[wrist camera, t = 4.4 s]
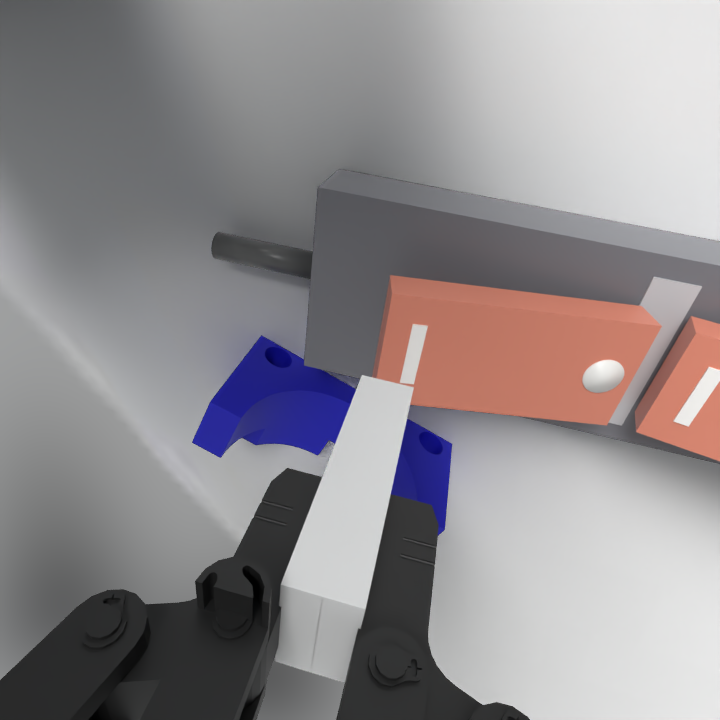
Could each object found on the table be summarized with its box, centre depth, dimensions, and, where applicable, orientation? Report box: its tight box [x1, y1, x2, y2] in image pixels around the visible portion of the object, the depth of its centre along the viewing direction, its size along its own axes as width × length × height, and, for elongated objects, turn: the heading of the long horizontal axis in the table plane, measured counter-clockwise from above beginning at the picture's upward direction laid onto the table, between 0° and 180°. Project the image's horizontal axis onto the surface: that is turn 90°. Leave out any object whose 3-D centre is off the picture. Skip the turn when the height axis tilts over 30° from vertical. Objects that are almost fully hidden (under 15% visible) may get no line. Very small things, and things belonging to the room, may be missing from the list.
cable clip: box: [192, 335, 452, 535], centre depth 25 cm, size 12×4×6 cm, turn 61°
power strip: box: [212, 169, 720, 464], centre depth 20 cm, size 31×8×3 cm, turn 81°
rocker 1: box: [372, 275, 662, 425], centre depth 18 cm, size 9×4×2 cm, turn 82°
